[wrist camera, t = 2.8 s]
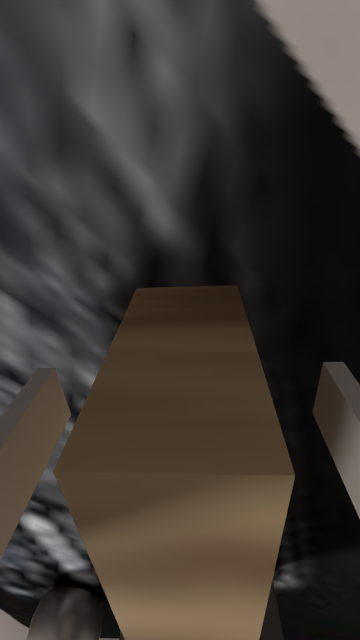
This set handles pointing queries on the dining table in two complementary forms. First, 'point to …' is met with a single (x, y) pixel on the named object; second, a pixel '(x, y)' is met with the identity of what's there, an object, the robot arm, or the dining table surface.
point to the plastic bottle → (67, 616)
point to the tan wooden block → (181, 470)
